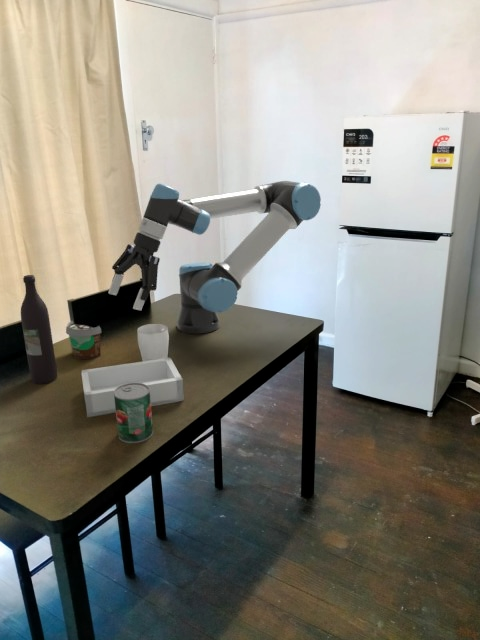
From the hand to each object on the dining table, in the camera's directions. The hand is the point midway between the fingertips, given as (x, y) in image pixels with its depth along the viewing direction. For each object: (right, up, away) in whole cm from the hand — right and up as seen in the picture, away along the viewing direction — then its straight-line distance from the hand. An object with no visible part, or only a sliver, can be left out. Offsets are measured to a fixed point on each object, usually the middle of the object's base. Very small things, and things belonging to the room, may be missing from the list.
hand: (124, 301), depth 154 cm
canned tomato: (+11, -32, -37) cm, 50 cm away
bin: (+7, -25, -20) cm, 33 cm away
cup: (+10, -20, -3) cm, 22 cm away
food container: (-14, -17, +5) cm, 23 cm away
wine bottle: (-20, -22, -10) cm, 32 cm away
